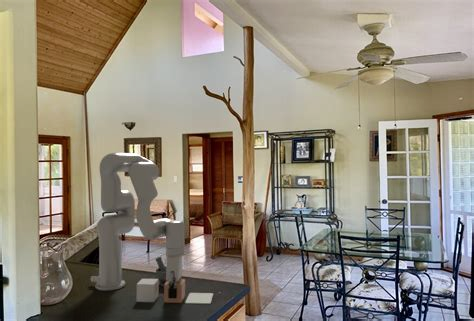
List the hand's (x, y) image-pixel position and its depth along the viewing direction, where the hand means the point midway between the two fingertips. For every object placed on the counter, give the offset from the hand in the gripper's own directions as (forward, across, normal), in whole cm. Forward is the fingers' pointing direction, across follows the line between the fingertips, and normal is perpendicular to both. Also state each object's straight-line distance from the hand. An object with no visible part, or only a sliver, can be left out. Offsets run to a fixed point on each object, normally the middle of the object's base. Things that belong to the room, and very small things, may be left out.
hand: (175, 293), depth 149 cm
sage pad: (+2, -1, +10) cm, 10 cm away
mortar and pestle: (+2, -18, -8) cm, 20 cm away
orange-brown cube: (+2, 0, 0) cm, 2 cm away
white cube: (+2, 0, -11) cm, 11 cm away
